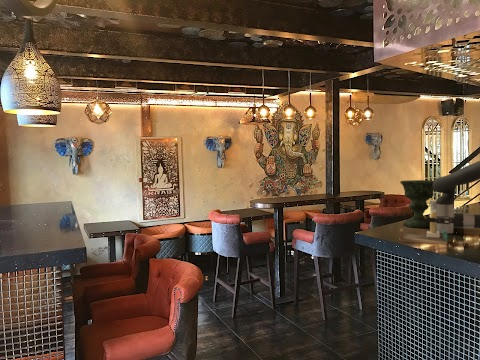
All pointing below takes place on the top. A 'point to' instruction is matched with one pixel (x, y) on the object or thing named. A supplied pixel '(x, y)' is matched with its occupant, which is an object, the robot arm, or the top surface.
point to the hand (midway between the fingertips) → (427, 219)
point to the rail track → (423, 238)
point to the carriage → (433, 227)
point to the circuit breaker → (433, 206)
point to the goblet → (418, 201)
